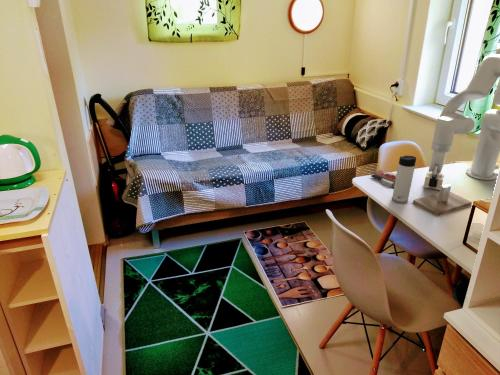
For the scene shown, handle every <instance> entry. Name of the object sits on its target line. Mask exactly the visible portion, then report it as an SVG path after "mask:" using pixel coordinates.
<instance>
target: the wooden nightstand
mask: <svg viewBox="0 0 500 375" xmlns="http://www.w3.org/2000/svg"><path fill="white" fill-rule="evenodd" d="M431 174H432V172H429V170H427V171H426V174H425V178H424V183H423V187H424V188H428V189H433V190H439V191H440V189H441V186H443V182H444V177H445V173H443V172H441V173H439V174H438V182H437V186H436V188H435V187H430V186H428V185H429V181H430V178H431ZM436 175H437V174H436Z"/></svg>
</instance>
